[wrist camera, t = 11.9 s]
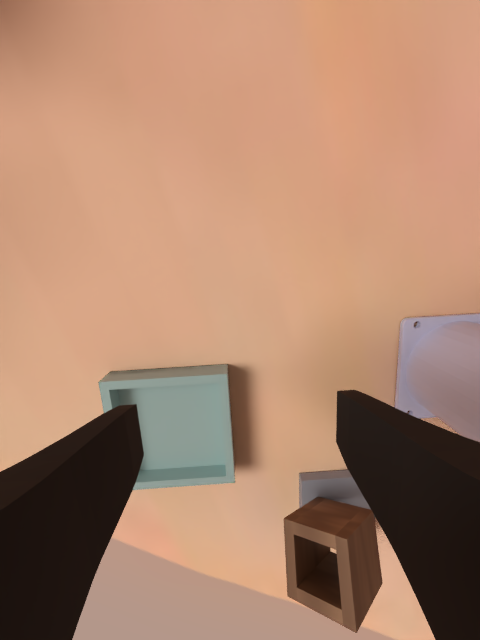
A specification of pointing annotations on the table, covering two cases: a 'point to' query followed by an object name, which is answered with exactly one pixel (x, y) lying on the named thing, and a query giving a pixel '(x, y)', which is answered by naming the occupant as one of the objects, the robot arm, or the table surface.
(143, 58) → the table surface
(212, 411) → the tray
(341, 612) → the walnut ring block
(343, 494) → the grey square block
